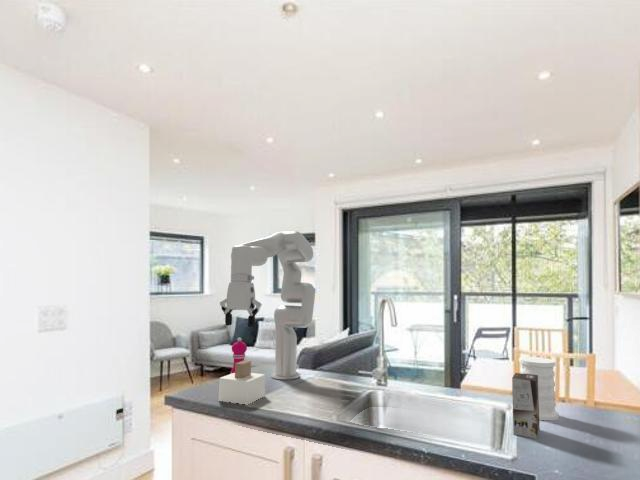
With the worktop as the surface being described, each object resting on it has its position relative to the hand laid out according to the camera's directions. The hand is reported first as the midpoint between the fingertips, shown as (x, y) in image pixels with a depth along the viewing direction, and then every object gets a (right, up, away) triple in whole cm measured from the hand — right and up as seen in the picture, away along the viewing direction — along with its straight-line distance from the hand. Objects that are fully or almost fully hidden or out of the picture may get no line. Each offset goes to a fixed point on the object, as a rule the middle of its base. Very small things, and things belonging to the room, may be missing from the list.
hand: (239, 325), depth 152 cm
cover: (+1, -27, 0) cm, 27 cm away
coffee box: (+90, -25, -30) cm, 98 cm away
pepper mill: (-3, -28, +13) cm, 31 cm away
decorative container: (+102, -27, -14) cm, 107 cm away
